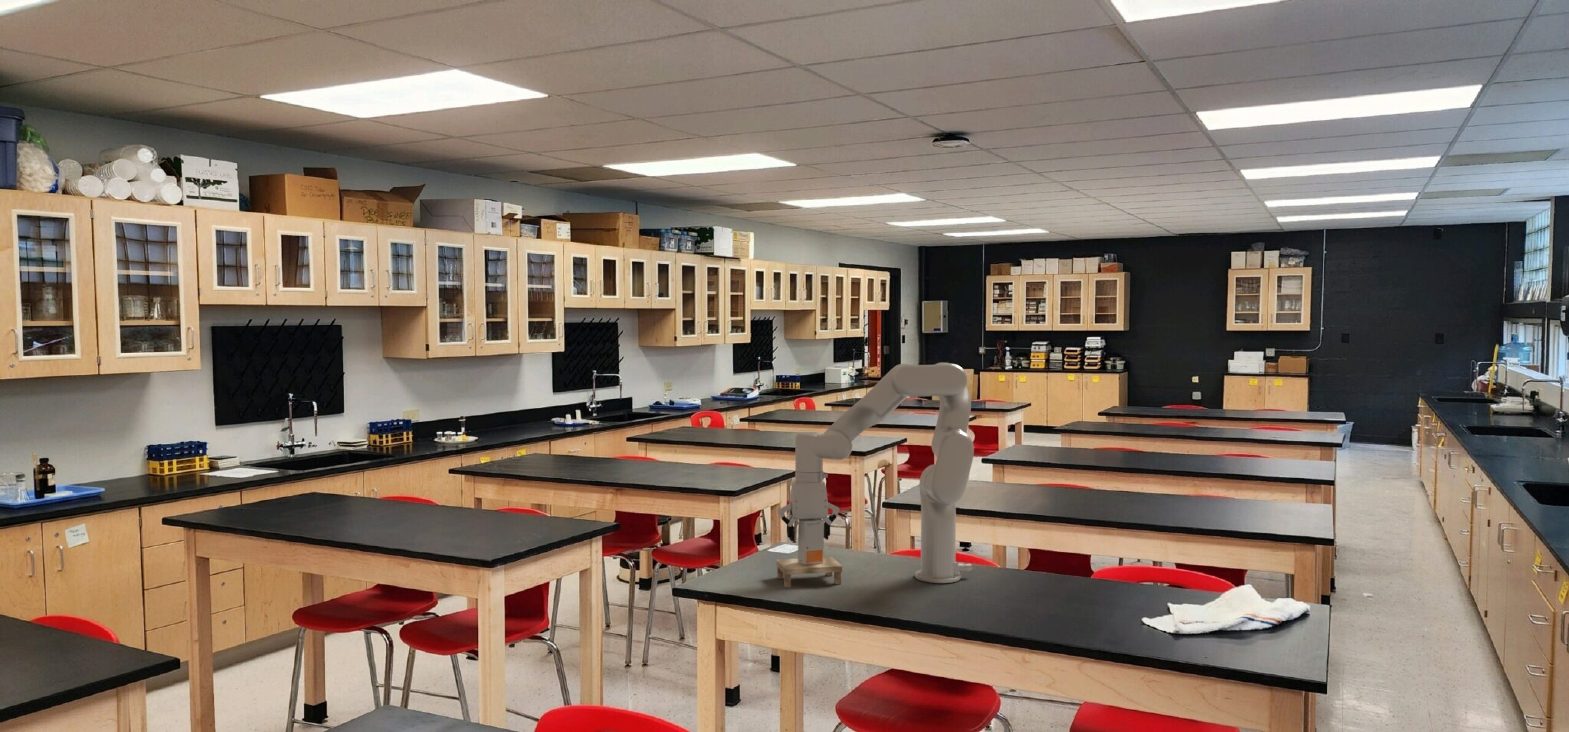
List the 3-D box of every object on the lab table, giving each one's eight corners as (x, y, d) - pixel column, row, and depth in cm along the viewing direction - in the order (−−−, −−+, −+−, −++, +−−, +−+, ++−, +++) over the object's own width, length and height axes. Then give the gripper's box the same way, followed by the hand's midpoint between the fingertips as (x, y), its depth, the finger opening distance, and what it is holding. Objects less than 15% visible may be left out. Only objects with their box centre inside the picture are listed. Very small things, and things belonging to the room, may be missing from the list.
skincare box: (804, 565, 257) (804, 521, 256) (797, 562, 260) (797, 518, 260) (824, 563, 259) (824, 519, 259) (816, 559, 263) (817, 517, 263)
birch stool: (831, 574, 267) (831, 556, 267) (842, 584, 256) (842, 566, 256) (776, 577, 264) (776, 559, 263) (784, 587, 253) (784, 569, 253)
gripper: (835, 474, 264) (835, 535, 265) (775, 476, 261) (775, 537, 261) (843, 478, 257) (842, 540, 258) (781, 480, 253) (780, 543, 254)
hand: (808, 539), depth 260 cm, fingers open, 9 cm apart
